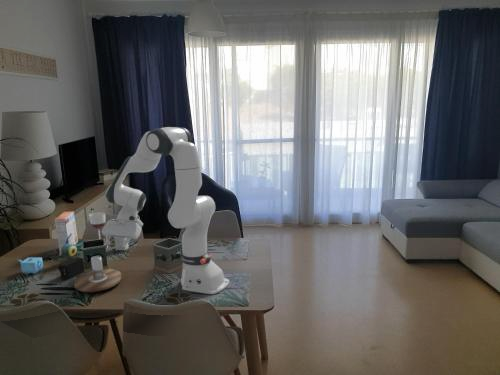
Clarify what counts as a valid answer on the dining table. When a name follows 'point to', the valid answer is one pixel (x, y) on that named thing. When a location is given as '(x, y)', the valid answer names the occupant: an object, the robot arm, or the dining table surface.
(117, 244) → the skincare box
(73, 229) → the cracker box
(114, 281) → the turntable platter
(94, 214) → the wineglass
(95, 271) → the cast sleeve
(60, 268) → the digital camera
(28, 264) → the teapot
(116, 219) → the robot arm
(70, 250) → the decorative fish
